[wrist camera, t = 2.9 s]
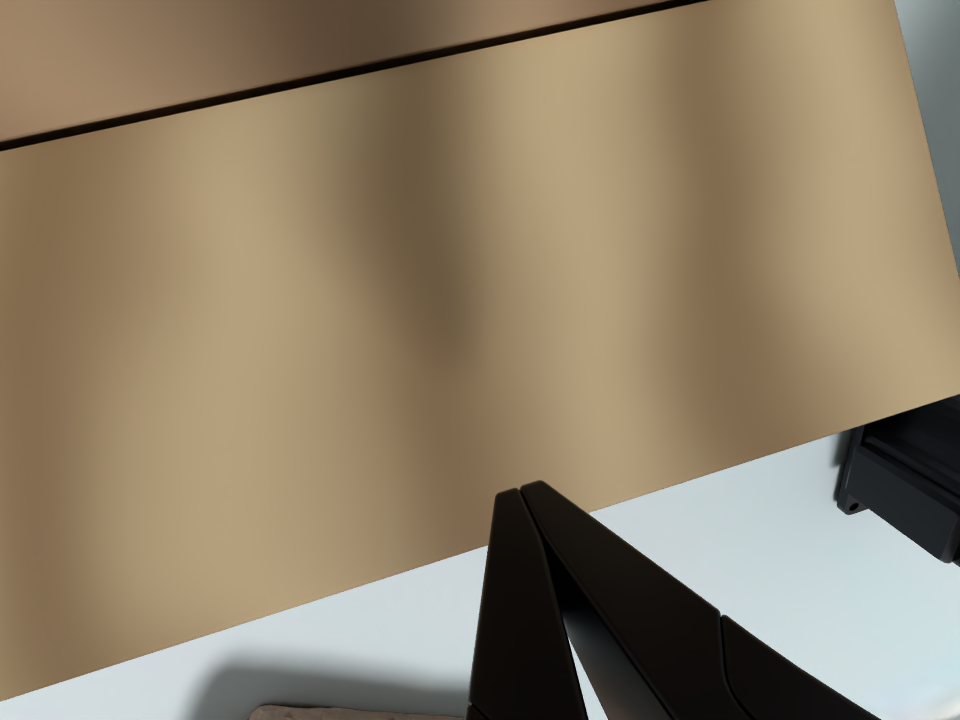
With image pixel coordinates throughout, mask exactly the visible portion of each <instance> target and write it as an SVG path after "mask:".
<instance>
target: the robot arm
mask: <svg viewBox="0 0 960 720" xmlns="http://www.w3.org/2000/svg"><path fill="white" fill-rule="evenodd" d="M837 507H838V508H839V509H840V510H841V511H842V512H844V513H845V514H847V515H851V514H855V513H858V512H861V511H863V510H866V509H870V510H871V511H873V512H874V513H875V514H877V515H878V516H880V517H881V518H882V519H884V520H885V521H886V522H888V523H889V524H890V525H892V526H893V527H895V528H896V529H897V530H899V531H900V532H901V533H903V534H904V535H906V536H907V537H908V538H910V539H911V540H912V541H914V542H915V543H916V544H918V545H919V546H921V547H922V548H923V549H925V550H926V551H927V552H929V553H930V554H932V555H933V556H934V557H936V558H937V559H939V560H940V561H942V562H944V563H951V562H953V563H955V564H956V565H958V566H959V567H960V394H957V395H954V396H951V397H948V398H945V399H942V400H939V401H936V402H932V403H929V404H926V405H923V406H920V407H917V408H914V409H911V410H908V411H904V412H901V413H898V414H895V415H892V416H889V417H886V418H883V419H879V420H876V421H873V422H870V423H867V424H864V425H861V426H858V427H855V428H854V430H853V434H852V439H851V443H850V448H849V452H848V457H847V461H846V466H845V470H844V475H843V479H842V483H841V488H840V492H839V497H838V501H837ZM567 635H568V636H567ZM568 637H569V639H570V641H571V643H572V645H573V647H574V649H575V652H576V654H577V656H578V658H579V660H580V662H581V664H582V666H583V668H584V670H585V672H586V674H587V676H588V679H589V681H590V683H591V685H592V687H593V689H594V691H595V693H596V695H597V697H598V699H599V701H600V703H601V706H602V708H603V710H604V712H605V714H606V716H607V718H608V720H881V719H879V718H878V717H876V716H875V715H873V714H871V713H870V712H868V711H866V710H865V709H863V708H862V707H860V706H858V705H857V704H855V703H854V702H852V701H851V700H849V699H847V698H846V697H844V696H843V695H841V694H840V693H838V692H836V691H835V690H833V689H832V688H830V687H829V686H827V685H826V684H824V683H822V682H821V681H819V680H818V679H816V678H815V677H813V676H812V675H810V674H808V673H807V672H805V671H804V670H802V669H801V668H799V667H798V666H796V665H795V664H793V663H792V662H791V661H789V660H788V659H786V658H785V657H783V656H782V655H781V654H779V653H778V652H776V651H775V650H773V649H772V648H771V647H769V646H768V645H766V644H765V643H763V642H762V641H761V640H759V639H758V638H756V637H755V636H754V635H752V634H751V633H749V632H748V631H747V630H745V629H744V628H743V627H741V626H740V625H739V624H737V623H736V622H735V621H733V620H732V619H731V618H729V617H728V616H727V615H722V616H721V614H720V611H719V610H718V609H717V608H715V607H714V606H713V605H711V604H710V603H709V602H707V601H706V600H705V599H703V598H702V597H700V596H699V595H698V594H696V593H695V592H694V591H692V590H691V589H690V588H688V587H687V586H686V585H684V584H683V583H681V582H680V581H679V580H677V579H676V578H675V577H673V576H672V575H671V574H669V573H668V572H667V571H665V570H664V569H662V568H661V567H660V566H658V565H657V564H656V563H654V562H653V561H652V560H650V559H649V558H648V557H646V556H645V555H643V554H642V553H641V552H639V551H638V550H637V549H635V548H634V547H633V546H631V545H630V544H629V543H627V542H626V541H624V540H623V539H622V538H620V537H619V536H618V535H616V534H615V533H614V532H612V531H611V530H610V529H608V528H607V527H605V526H604V525H603V524H601V523H600V522H599V521H597V520H596V519H595V518H593V517H592V516H591V515H589V514H588V513H586V512H585V511H584V510H582V509H581V508H580V507H578V506H577V505H576V504H574V503H573V502H571V501H570V500H569V499H567V498H566V497H565V496H563V495H562V494H561V493H559V492H558V491H557V490H555V489H554V488H552V487H551V486H550V485H548V484H547V483H546V482H544V481H542V480H537V481H534V482H531V483H528V484H524V485H522V486H521V487H520V490H519V489H518V488H511V489H508V490H505V491H502V492H499V493H497V494H496V496H495V500H494V507H493V515H492V522H491V530H490V537H489V544H488V552H487V559H486V567H485V574H484V582H483V589H482V596H481V604H480V611H479V619H478V626H477V634H476V641H475V648H474V656H473V663H472V671H471V678H470V685H469V693H468V703H469V705H468V706H467V707H466V713H465V720H589V719H588V715H587V711H586V707H585V703H584V699H583V695H582V691H581V687H580V683H579V679H578V675H577V671H576V667H575V663H574V659H573V655H572V651H571V648H570V644H569V640H568Z"/></svg>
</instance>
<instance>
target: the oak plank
mask: <svg viewBox="0 0 960 720" xmlns="http://www.w3.org/2000/svg"><path fill="white" fill-rule="evenodd" d="M957 394H960V279H959V275H958V271H957V266H956V262H955V258H954V254H953V249H952V245H951V241H950V237H949V232H948V228H947V224H946V220H945V215H944V211H943V207H942V203H941V198H940V194H939V190H938V186H937V181H936V177H935V173H934V169H933V164H932V160H931V156H930V151H929V147H928V143H927V139H926V134H925V130H924V126H923V122H922V117H921V113H920V109H919V105H918V100H917V96H916V92H915V88H914V83H913V79H912V75H911V71H910V66H909V62H908V58H907V53H906V49H905V45H904V41H903V36H902V32H901V28H900V24H899V19H898V15H897V11H896V7H895V2H894V0H709V1H704V2H700V3H695V4H690V5H686V6H681V7H676V8H672V9H667V10H662V11H658V12H653V13H648V14H643V15H639V16H634V17H629V18H625V19H620V20H615V21H611V22H606V23H601V24H597V25H592V26H587V27H582V28H578V29H573V30H568V31H564V32H559V33H554V34H550V35H545V36H540V37H536V38H531V39H526V40H521V41H517V42H512V43H507V44H503V45H498V46H493V47H489V48H484V49H479V50H475V51H470V52H465V53H460V54H456V55H451V56H446V57H442V58H437V59H432V60H428V61H423V62H418V63H414V64H409V65H404V66H400V67H395V68H390V69H385V70H381V71H376V72H371V73H367V74H362V75H357V76H353V77H348V78H343V79H339V80H334V81H329V82H324V83H320V84H315V85H310V86H306V87H301V88H296V89H292V90H287V91H282V92H278V93H273V94H268V95H263V96H259V97H254V98H249V99H245V100H240V101H235V102H231V103H226V104H221V105H217V106H212V107H207V108H202V109H198V110H193V111H188V112H184V113H179V114H174V115H170V116H165V117H160V118H156V119H151V120H146V121H141V122H137V123H132V124H127V125H123V126H118V127H113V128H109V129H104V130H99V131H95V132H90V133H85V134H80V135H76V136H71V137H66V138H62V139H57V140H52V141H48V142H43V143H38V144H34V145H29V146H24V147H20V148H15V149H10V150H5V151H1V152H0V701H3V700H6V699H10V698H13V697H16V696H19V695H22V694H25V693H28V692H31V691H35V690H38V689H41V688H44V687H47V686H50V685H53V684H56V683H59V682H63V681H66V680H69V679H72V678H75V677H78V676H81V675H84V674H88V673H91V672H94V671H97V670H100V669H103V668H106V667H109V666H112V665H116V664H119V663H122V662H125V661H128V660H131V659H134V658H137V657H141V656H144V655H147V654H150V653H153V652H156V651H159V650H162V649H165V648H169V647H172V646H175V645H178V644H181V643H184V642H187V641H190V640H194V639H197V638H200V637H203V636H206V635H209V634H212V633H215V632H218V631H222V630H225V629H228V628H231V627H234V626H237V625H240V624H243V623H247V622H250V621H253V620H256V619H259V618H262V617H265V616H268V615H271V614H275V613H278V612H281V611H284V610H287V609H290V608H293V607H296V606H300V605H303V604H306V603H309V602H312V601H315V600H318V599H321V598H325V597H328V596H331V595H334V594H337V593H340V592H343V591H346V590H349V589H353V588H356V587H359V586H362V585H365V584H368V583H371V582H374V581H378V580H381V579H384V578H387V577H390V576H393V575H396V574H399V573H402V572H406V571H409V570H412V569H415V568H418V567H421V566H424V565H427V564H431V563H434V562H437V561H440V560H443V559H446V558H449V557H452V556H455V555H459V554H462V553H465V552H468V551H471V550H474V549H477V548H480V547H484V546H487V545H488V544H489V537H490V530H491V522H492V515H493V507H494V500H495V496H496V494H497V493H499V492H502V491H505V490H508V489H511V488H518V489H519V490H520V487H521V486H522V485H524V484H528V483H531V482H534V481H537V480H542V481H544V482H546V483H547V484H548V485H550V486H551V487H552V488H554V489H555V490H557V491H558V492H559V493H561V494H562V495H563V496H565V497H566V498H567V499H569V500H570V501H571V502H573V503H574V504H576V505H577V506H578V507H580V508H581V509H582V510H584V511H585V512H586V513H590V512H593V511H596V510H599V509H602V508H605V507H608V506H611V505H614V504H618V503H621V502H624V501H627V500H630V499H633V498H636V497H639V496H643V495H646V494H649V493H652V492H655V491H658V490H661V489H664V488H667V487H671V486H674V485H677V484H680V483H683V482H686V481H689V480H692V479H696V478H699V477H702V476H705V475H708V474H711V473H714V472H717V471H720V470H724V469H727V468H730V467H733V466H736V465H739V464H742V463H745V462H749V461H752V460H755V459H758V458H761V457H764V456H767V455H770V454H773V453H777V452H780V451H783V450H786V449H789V448H792V447H795V446H798V445H802V444H805V443H808V442H811V441H814V440H817V439H820V438H823V437H826V436H830V435H833V434H836V433H839V432H842V431H845V430H848V429H851V428H855V427H858V426H861V425H864V424H867V423H870V422H873V421H876V420H879V419H883V418H886V417H889V416H892V415H895V414H898V413H901V412H904V411H908V410H911V409H914V408H917V407H920V406H923V405H926V404H929V403H932V402H936V401H939V400H942V399H945V398H948V397H951V396H954V395H957Z"/></svg>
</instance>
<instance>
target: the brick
mask: <svg viewBox="0 0 960 720" xmlns="http://www.w3.org/2000/svg"><path fill="white" fill-rule="evenodd" d="M248 720H465V718H463V717H451V716H443V715H440V716H430V715H423V714H400V713H393V712H382V711H358V710H353V709H348V708H337V707H332V708H294V707H284V706H276V705H264V706H259V707H258V708H257V709H256V710H255V711H254V712H253V713H251V716H250V718H249V719H248Z"/></svg>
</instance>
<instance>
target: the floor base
mask: <svg viewBox="0 0 960 720" xmlns="http://www.w3.org/2000/svg"><path fill="white" fill-rule="evenodd" d="M704 1H709V0H0V152H1V151H5V150H10V149H15V148H20V147H24V146H29V145H34V144H38V143H43V142H48V141H52V140H57V139H62V138H66V137H71V136H76V135H80V134H85V133H90V132H95V131H99V130H104V129H109V128H113V127H118V126H123V125H127V124H132V123H137V122H141V121H146V120H151V119H156V118H160V117H165V116H170V115H174V114H179V113H184V112H188V111H193V110H198V109H202V108H207V107H212V106H217V105H221V104H226V103H231V102H235V101H240V100H245V99H249V98H254V97H259V96H263V95H268V94H273V93H278V92H282V91H287V90H292V89H296V88H301V87H306V86H310V85H315V84H320V83H324V82H329V81H334V80H339V79H343V78H348V77H353V76H357V75H362V74H367V73H371V72H376V71H381V70H385V69H390V68H395V67H400V66H404V65H409V64H414V63H418V62H423V61H428V60H432V59H437V58H442V57H446V56H451V55H456V54H460V53H465V52H470V51H475V50H479V49H484V48H489V47H493V46H498V45H503V44H507V43H512V42H517V41H521V40H526V39H531V38H536V37H540V36H545V35H550V34H554V33H559V32H564V31H568V30H573V29H578V28H582V27H587V26H592V25H597V24H601V23H606V22H611V21H615V20H620V19H625V18H629V17H634V16H639V15H643V14H648V13H653V12H658V11H662V10H667V9H672V8H676V7H681V6H686V5H690V4H695V3H700V2H704Z"/></svg>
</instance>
